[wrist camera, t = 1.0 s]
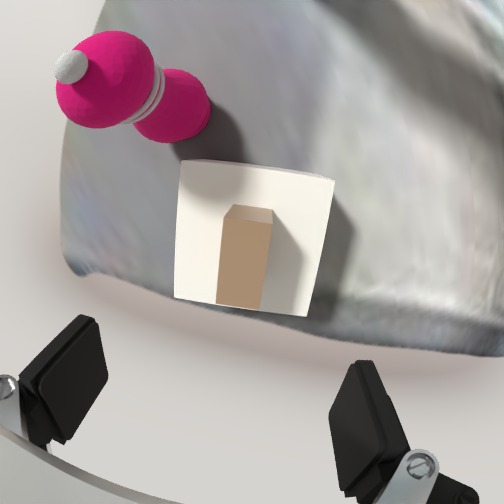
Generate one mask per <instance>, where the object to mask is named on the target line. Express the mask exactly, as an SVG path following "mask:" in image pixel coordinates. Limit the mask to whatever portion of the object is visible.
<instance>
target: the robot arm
mask: <svg viewBox="0 0 504 504" xmlns="http://www.w3.org/2000/svg"><path fill="white" fill-rule="evenodd" d="M19 378H20V379H19V380H18V381H16V379H15V378H14V377H12V376H10V375H0V504H181V503H177V502H173V501H169V500H165V499H161V498H158V497H154V496H150V495H147V494H144V493H141V492H138V491H134V490H132V489H129V488H125V487H123V486H120V485H117V484H114V483H112V482H109V481H107V480H105V479H102V478H100V477H97V476H95V475H93V474H90V473H88V472H86V471H84V470H82V469H79V468H77V467H75V466H73V465H71V464H69V463H67V462H65V461H63V460H61V459H59V458H58V457H56V456H53V455H52V451H51V447H50V441H51V440H52V439H53V440H55V441H57V442H59V443H61V444H63V445H64V444H65V443H66V441H67V440H70V439H71V438H72V437H73V435H74V433H75V432H76V430H77V429H78V427H79V425H80V424H81V422H82V420H83V419H84V417H85V416H86V414H87V412H88V411H89V409H90V408H91V406H92V404H93V403H94V401H95V400H96V398H97V396H98V395H99V393H100V392H101V390H102V389H103V387H104V386H105V384H106V382H107V380H108V371H107V366H106V362H105V357H104V352H103V347H102V342H101V337H100V331H99V326H98V323H96V322H95V319H94V318H92V317H89V316H85V315H82V314H80V315H78V316H77V317H76V318H75V319H74V320H73V321H72V322H71V323H70V324H69V325H68V326H67V327H66V328H65V329H64V330H63V331H61V332H60V333H59V334H58V336H56V337H55V338H54V339H53V340H52V341H51V342H50V343H49V344H48V345H47V346H46V347H45V348H44V349H43V350H42V351H41V352H40V353H39V354H38V355H37V356H36V357H35V358H34V360H33V361H32V362H31V363H30V364H29V365H28V366H27V367H26V368H25V369H24V370H23V371H22V372H21V373H20V374H19ZM329 424H330V431H331V436H332V442H333V448H334V454H335V461H336V468H337V474H338V481H339V488H340V490H341V491H344V494H345V497H355V496H356V498H357V502H358V504H479V496H478V494H477V492H476V491H475V490H474V489H473V488H471V487H469V486H467V485H465V484H462V483H460V482H458V481H455V480H454V479H451V478H449V477H447V476H445V475H443V474H441V473H439V463H438V461H437V459H436V457H435V456H434V455H433V454H432V453H430V452H429V451H427V450H423V449H415V450H411V449H410V447H409V444H408V441H407V439H406V436H405V433H404V431H403V428H402V426H401V423H400V421H399V418H398V415H397V413H396V410H395V408H394V406H393V403H392V401H391V399H390V397H389V396H388V395H387V393H386V391H385V388H384V386H383V383H382V381H381V379H380V376H379V374H378V372H377V369H376V367H375V365H374V363H373V361H371V360H357V361H356V362H355V363H354V364H351V365H350V367H349V369H348V372H347V374H346V376H345V378H344V381H343V383H342V385H341V388H340V390H339V392H338V394H337V396H336V399H335V401H334V403H333V405H332V407H331V409H330V412H329Z"/></svg>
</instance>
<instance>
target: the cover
mask: <svg viewBox="0 0 504 504" xmlns="http://www.w3.org/2000/svg"><path fill="white" fill-rule="evenodd" d="M334 184H335V181H334V180H332V179H329V178H326V177H324V176H321V175H318V174H313V173H307V172H301V171H295V170H289V169H282V168H275V167H268V166H261V165H254V164H246V163H237V162H228V161H219V160H208V159H196V160H182V161H181V171H180V182H179V194H178V208H177V224H176V244H175V273H174V297H175V298H181V299H187V300H192V301H198V302H204V303H210V304H217V305H223V306H229V307H236V308H243V309H250V310H257V311H265V312H272V313H280V314H288V315H297V316H305V317H306V316H307V312H308V309H309V304H310V300H311V296H312V292H313V288H314V284H315V279H316V275H317V271H318V266H319V262H320V257H321V252H322V248H323V243H324V238H325V233H326V228H327V223H328V218H329V212H330V207H331V201H332V196H333V190H334Z"/></svg>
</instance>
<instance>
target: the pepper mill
mask: <svg viewBox="0 0 504 504" xmlns="http://www.w3.org/2000/svg"><path fill="white" fill-rule="evenodd" d="M54 74H55V77H56V79H57V84H56V94H57V100H58V103H59V106H60V108H61V110H62V111H63V112H64V114H65V115H66V116H67V118H69V119H70V120H71V121H73V122H74V123H76V124H79V125H81V126H85V127H88V128H106V127H110V126H114V125H116V124H118V123H119V124H130V123H133V124H134V126H135V128H136V129H137V130H138V131H139V132H140V133H141V134H142V135H143V136H145V137H146V138H148V139H150V140H153V141H156V142H161V143H173V142H177V141H180V140H185V139H189V138H191V137H194V136H195V135H197V134H198V133H200V132H201V131H202V130H203V129H204V127H205V126H206V125H207V123H208V121H209V118H210V114H211V105H210V101H209V99H208V97H207V94H206V91H205V88H204V87H203V85H202V83H201V82H200V81H199V80H198V79H197V78H196V77H194V76H193V75H191V74H190V73H188V72H185V71H183V70H177V69H164V70H162V68H161V67H160V65H159V64H158V63H157V62H156V61H155V60H154V59H153V57H152V54H151V52H150V50H149V48H148V47H147V46H146V44H145V43H144V42H143V41H142V40H140V39H139V38H137V37H135V36H134V35H131V34H129V33H126V32H121V31H105V32H101V33H98V34H95V35H93V36H91V37H88V38H87V39H85V40H83V41H82V42H81V43H79V44H78V45H77V46H76V47H75V48H74V49H73V50H71V51H68V52H66V53H64V54H63V55H61V57H60V58H59V59H58V60H57V62H56V64H55V67H54Z"/></svg>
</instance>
